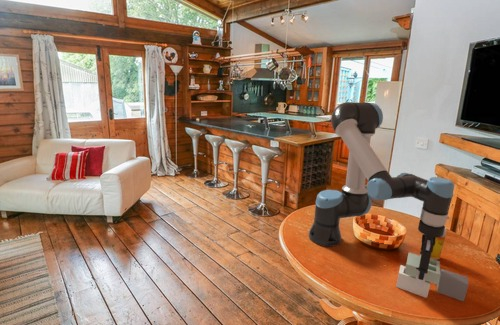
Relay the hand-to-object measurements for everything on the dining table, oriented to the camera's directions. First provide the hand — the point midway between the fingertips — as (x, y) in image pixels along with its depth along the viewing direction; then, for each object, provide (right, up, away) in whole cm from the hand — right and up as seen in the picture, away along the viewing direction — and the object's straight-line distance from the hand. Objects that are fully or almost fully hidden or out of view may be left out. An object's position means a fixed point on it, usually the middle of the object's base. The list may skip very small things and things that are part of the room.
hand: (419, 278), depth 104 cm
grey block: (0, +2, -1) cm, 3 cm away
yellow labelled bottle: (+19, 0, +23) cm, 29 cm away
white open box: (-2, -4, +2) cm, 5 cm away
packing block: (+11, -5, 0) cm, 12 cm away
